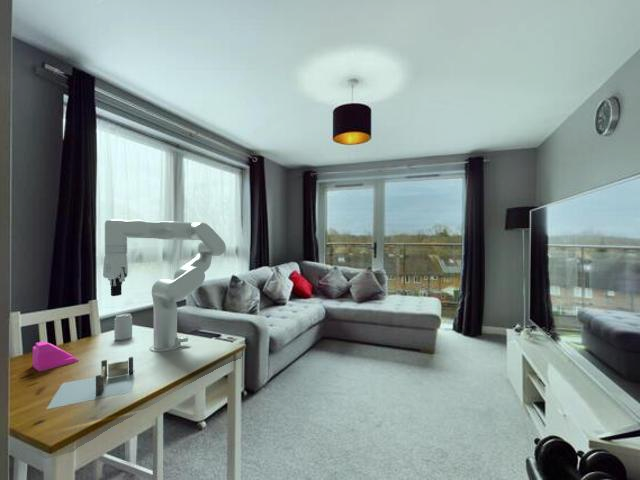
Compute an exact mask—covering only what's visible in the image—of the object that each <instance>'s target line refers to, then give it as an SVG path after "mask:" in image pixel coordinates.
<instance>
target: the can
mask: <svg viewBox="0 0 640 480" xmlns="http://www.w3.org/2000/svg"><path fill="white" fill-rule="evenodd" d="M113 324H114V331H113V332H114V339H115V340H116V341H126V340H129V339H130V338H131V337H132V336H133V316H132V314H131V313H120V314H117V315H115V318H114V323H113Z"/></svg>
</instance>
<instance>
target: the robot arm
mask: <svg viewBox="0 0 640 480" xmlns="http://www.w3.org/2000/svg"><path fill="white" fill-rule="evenodd" d="M128 238H129V239H156V240H157V239H158V240H168V241H169V240H170V241H171V240H175V241H178V240H180V241H181V240H182V241H200V242H199V243H198V246H197V253H196V256H195V257H194V258H193V259H192V260H190V261H188V262H187V263H186V264H184V265H183V266H181V267H180V268H178V269H177V270H176V271H175V272H174V274H173V275H174V276H173V279H170V278H161V279H158V280H156V281H155V283H154V284H153V285H152V288H151V297H152V304H153V305H152V307H153V344H152V345H150V347H149V351H150V352H153V353H163V352H164V353H166V352H170V351H173V350H178V349H179V348H180V347H181V346H182V344H181V343H185V342H189V336H188V337H187V336H186V337H185V336H181V337H180V336H178V305H177V303H178V302H181V301H183V300H184V299H186V298H187V297H188V296H189V295H191V294H192V293H193V292H195V291H196V290H197V289H199V288H200V287H201V286H202V285H203V284H204V281H205V280H206V273H205V272H207V271H208V270H209V269H210V267H211V265H212V259H213V257H219V256H223V254H225V252H226V250H227V249H226V248H227V245H226V243H225V241H224V240H223V239H222V237H221V236H219V234H218V233H217V232H216V231H215V229H213V228H212V227H211V226H210V225H209V224H207V223H206V222H184V221H183V222H182V221H172V220H171V221H170V220H169V221H168V220H167V221H166V220H165V221H144V220H141V219H133V220H124V219H107V220H105V221H104V258H103V266H102V267H103V268H102V269H103V271H102V272H103V273H102V276H103V278H105V279H107V280H108V281H109V285H110V296H111V297H117V296H118V297H119V296H122V286H123V282H125V281H126V278H127V277H128V273H129V270H128V256H127V254H128Z"/></svg>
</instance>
